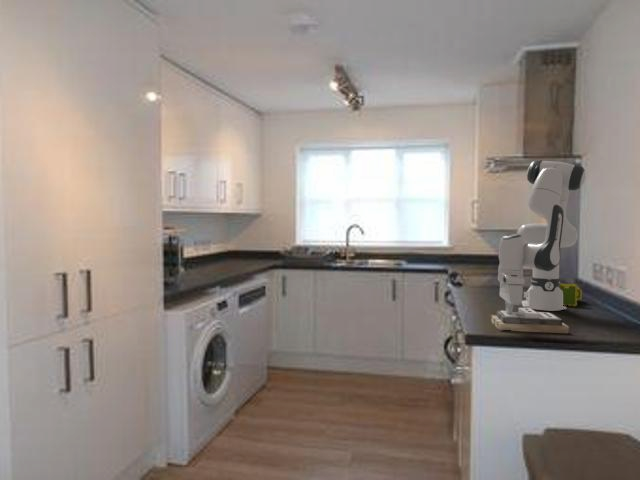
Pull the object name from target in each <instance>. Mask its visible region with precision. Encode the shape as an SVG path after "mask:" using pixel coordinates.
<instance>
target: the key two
mask: <svg viewBox="0 0 640 480" xmlns="http://www.w3.org/2000/svg"><path fill="white" fill-rule="evenodd" d="M517 312H518V313H519V314H521V315H522V316H523V317H524V318H535V319H538V313H537V312H538V311H535V309H531V308H524V307H518V311H517Z"/></svg>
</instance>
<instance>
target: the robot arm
mask: <svg viewBox="0 0 640 480" xmlns="http://www.w3.org/2000/svg"><path fill="white" fill-rule="evenodd" d="M526 177H527V178H526V179H527V181H528V182H529V183H530V184H532V188H531V191H530V194H529V196H528V200H527V201H528V202H527V203H528V207H529V209H530V211H531V212H532V213H534V214H535V215H536V216H537V217H540V218H543V219H545V220H546V223H535V222H534V223H527V224H522V225H521V226H519V228H518V230H517V232H516V233H511V234H505V235H503V236H502V237H501V238H500V241H499V247H498V260H499V264H498V267H497V271H498V273H497V281H498V282H499V297H500V298H501V299H503V300H504V304H505V311H506V312H507V313H509V314H512V313H513V312H514V311H513V310H514V306H521V305H522V308H531V309H532V310H539V311H550V312H551V311H552V312H554V311H557V312H558V311H559V312H560V311H562V310H567V306H566V305H564V306H563V291H562V290H561V289H560V288H559V286H560V284H561V279H560V261H561V248H562V249H564V248H570V247H572V246H575V244H576V242H577V241H578V238H579V233H578V230H577V228H576V227H575V226H574V225H572V224H571V223H570V221H569V219H568V218H567V208H568V202H569V198H570V197H569V196H570V191H577V190H579V189H581V187H582V186H583V185H584V183H585V181H586V170H585V168H584V167H583V166H582V165H579V164H572V163H567V162H563V161H552V160H551V161H550V160H543V159H537V160H534V161H532V162H531V163H530V165H529V166H528V168H527V171H526ZM524 268H527V269H532V276H531V279H530V286H529V288H528V289H527V291H526V292H525V291H524V292H523V290H524V288H523V286H524V285H525V284H526V283H525V281H526V280H525V278H524ZM523 298H525V300H523Z"/></svg>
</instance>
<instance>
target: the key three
mask: <svg viewBox="0 0 640 480" xmlns="http://www.w3.org/2000/svg"><path fill="white" fill-rule="evenodd" d="M536 312H537V313H538V314H539V315H540V316H542V317H543V318H544V319H558V318H559V317H558V316H557V317H558V318H557V317H555V316H556V315H555V314H554V315H555V316H554V315H552V314H553V313H552V312H544V311H543V312H540V311H536ZM551 313H552V314H551Z"/></svg>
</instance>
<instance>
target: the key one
mask: <svg viewBox="0 0 640 480" xmlns="http://www.w3.org/2000/svg"><path fill="white" fill-rule="evenodd" d="M499 311H500V313H501V314H502V315H503V316H504V317H510V318H518V316H517V315H516V314H515V313H512V314H509V313H507V312H506V310H499Z"/></svg>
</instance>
